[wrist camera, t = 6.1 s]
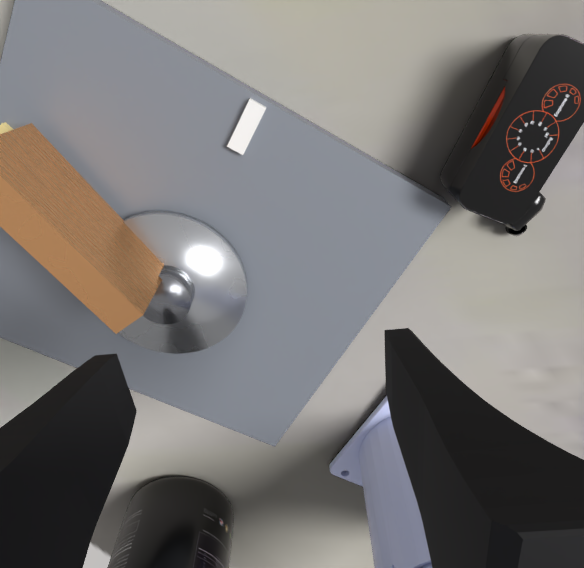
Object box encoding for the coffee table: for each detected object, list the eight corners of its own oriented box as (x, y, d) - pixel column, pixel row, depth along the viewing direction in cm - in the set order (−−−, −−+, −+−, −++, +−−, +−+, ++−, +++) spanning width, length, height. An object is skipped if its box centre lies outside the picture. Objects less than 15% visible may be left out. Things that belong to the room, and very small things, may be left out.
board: (443, 198, 21) (453, 209, 20) (275, 430, 28) (274, 450, 27) (40, -35, 17) (19, -40, 16) (-44, 301, 24) (-63, 317, 23)
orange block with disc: (278, 299, 22) (274, 355, 18) (166, 370, 24) (142, 434, 20) (86, 74, 18) (29, 87, 14) (-31, 184, 20) (-110, 221, 16)
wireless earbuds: (423, 197, 22) (442, 223, 19) (511, 28, 18) (551, 28, 15) (512, 231, 22) (544, 261, 19) (612, 75, 19) (668, 83, 16)
